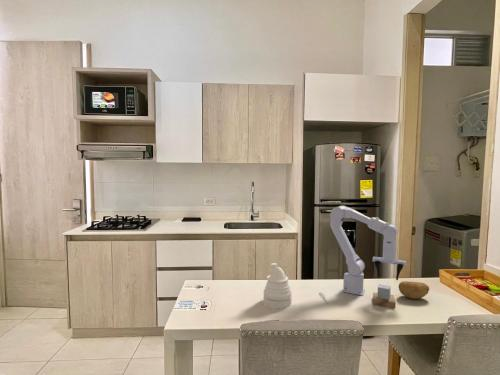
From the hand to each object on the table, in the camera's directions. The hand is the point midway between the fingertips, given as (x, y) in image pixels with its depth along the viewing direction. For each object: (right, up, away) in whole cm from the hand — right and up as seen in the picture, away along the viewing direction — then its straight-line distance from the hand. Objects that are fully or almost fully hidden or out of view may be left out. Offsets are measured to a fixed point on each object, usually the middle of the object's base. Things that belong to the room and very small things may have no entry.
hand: (388, 278), depth 156 cm
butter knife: (-30, -11, -7) cm, 33 cm away
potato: (+13, -10, +2) cm, 17 cm away
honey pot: (-54, -10, -6) cm, 55 cm away
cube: (-4, -8, -4) cm, 10 cm away
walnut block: (-4, -11, -4) cm, 12 cm away
